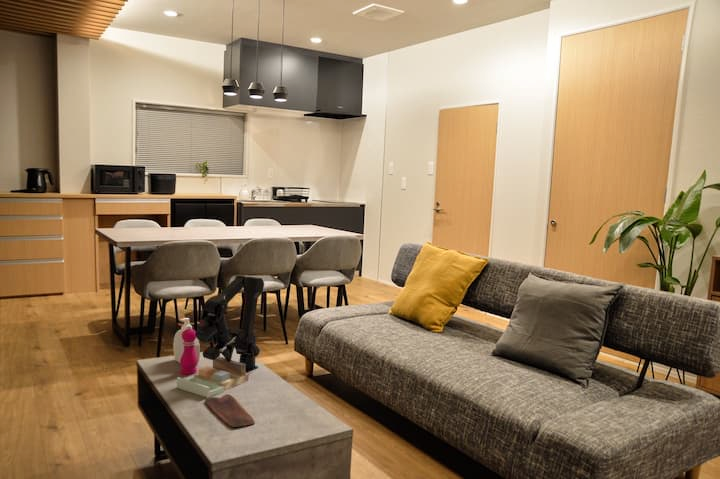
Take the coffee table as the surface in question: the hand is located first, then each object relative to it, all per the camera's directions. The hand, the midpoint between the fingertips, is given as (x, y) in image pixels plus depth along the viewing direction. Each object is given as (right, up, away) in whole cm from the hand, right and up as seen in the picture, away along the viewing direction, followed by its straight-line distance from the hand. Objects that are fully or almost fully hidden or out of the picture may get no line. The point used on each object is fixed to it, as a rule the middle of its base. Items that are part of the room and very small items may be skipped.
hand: (229, 360), depth 223 cm
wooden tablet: (+12, -11, -28) cm, 33 cm away
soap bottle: (-23, -5, +17) cm, 29 cm away
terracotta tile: (-8, -5, -4) cm, 10 cm away
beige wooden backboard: (-2, -8, -3) cm, 9 cm away
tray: (-8, -8, -12) cm, 17 cm away
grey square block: (-1, -5, -8) cm, 10 cm away
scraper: (0, -4, 0) cm, 4 cm away
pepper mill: (-18, -6, +6) cm, 20 cm away
